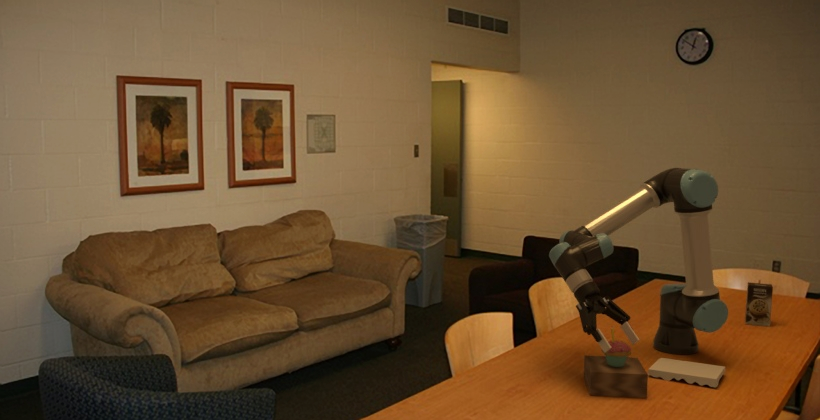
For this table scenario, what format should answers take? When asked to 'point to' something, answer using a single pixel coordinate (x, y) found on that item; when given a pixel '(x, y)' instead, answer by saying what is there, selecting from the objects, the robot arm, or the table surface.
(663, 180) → the robot arm
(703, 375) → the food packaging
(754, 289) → the cookie box
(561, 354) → the table surface
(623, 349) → the cupcake
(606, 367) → the riser
